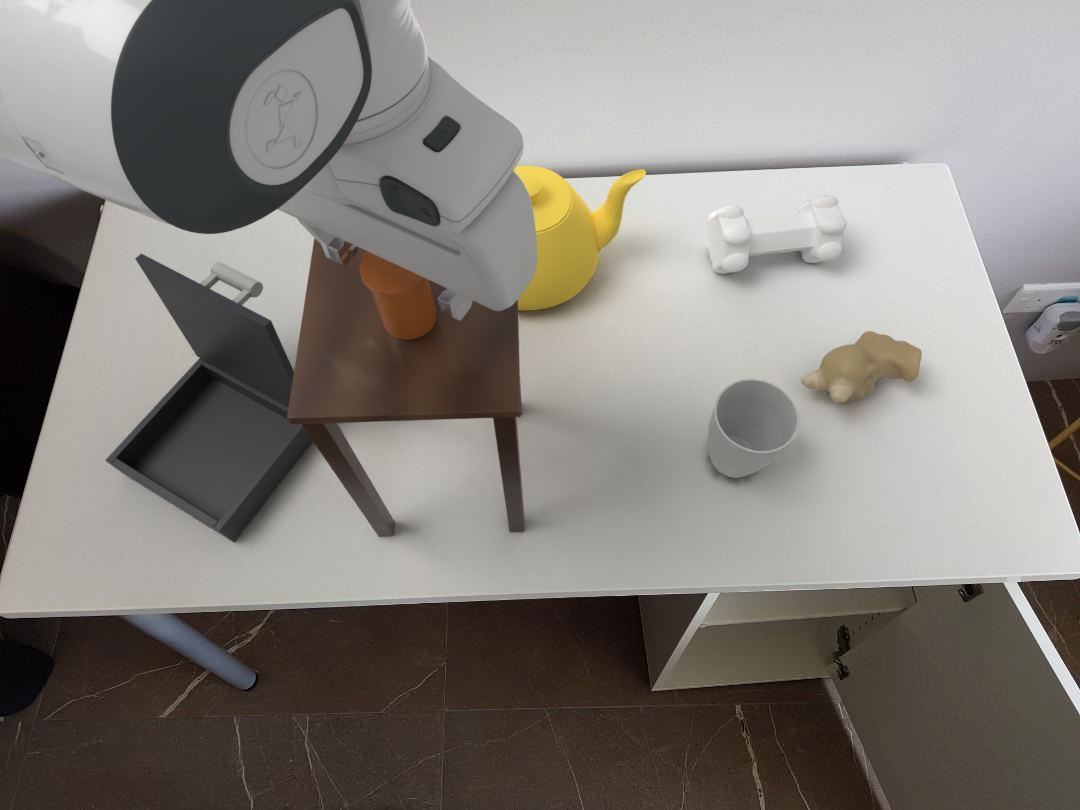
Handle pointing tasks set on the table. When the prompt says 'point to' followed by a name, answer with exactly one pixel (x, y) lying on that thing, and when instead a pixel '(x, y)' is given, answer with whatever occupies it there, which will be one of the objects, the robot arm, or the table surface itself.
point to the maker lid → (225, 326)
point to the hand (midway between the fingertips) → (399, 281)
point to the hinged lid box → (213, 448)
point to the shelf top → (397, 357)
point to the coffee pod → (399, 297)
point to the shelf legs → (371, 503)
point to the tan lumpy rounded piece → (864, 366)
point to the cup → (750, 426)
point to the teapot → (568, 234)
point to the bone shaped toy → (775, 234)
